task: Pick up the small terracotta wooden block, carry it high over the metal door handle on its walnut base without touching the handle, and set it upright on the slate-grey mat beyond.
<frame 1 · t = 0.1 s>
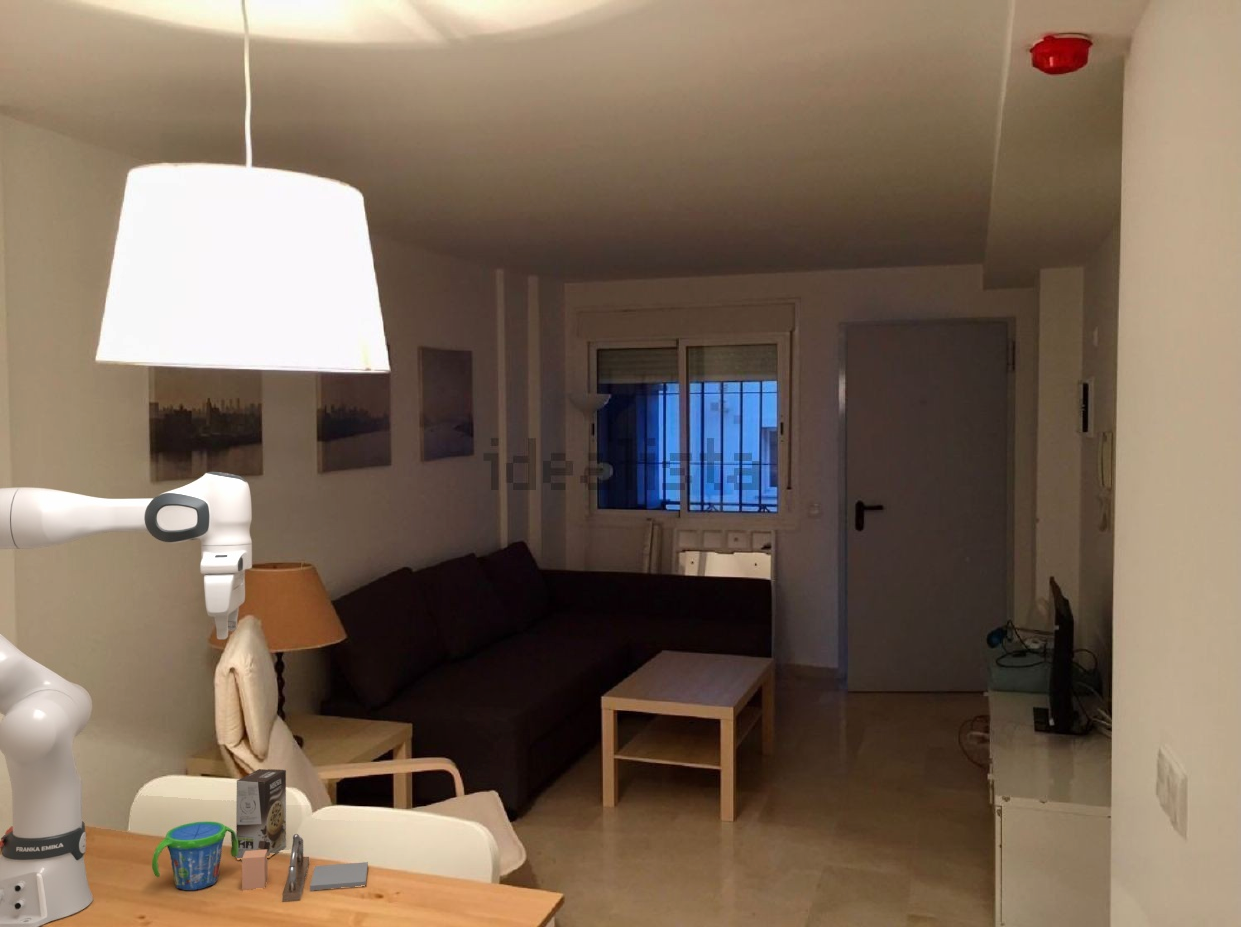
hand: (227, 634, 198), 48 cm above the table, tool pointing down, fingers open, 8 cm apart
mat: (339, 879, 205), on the table
coffee box: (261, 854, 218), on the table
metal door handle: (296, 882, 203), on the table
snack cup: (196, 885, 202), on the table
block: (255, 885, 202), on the table
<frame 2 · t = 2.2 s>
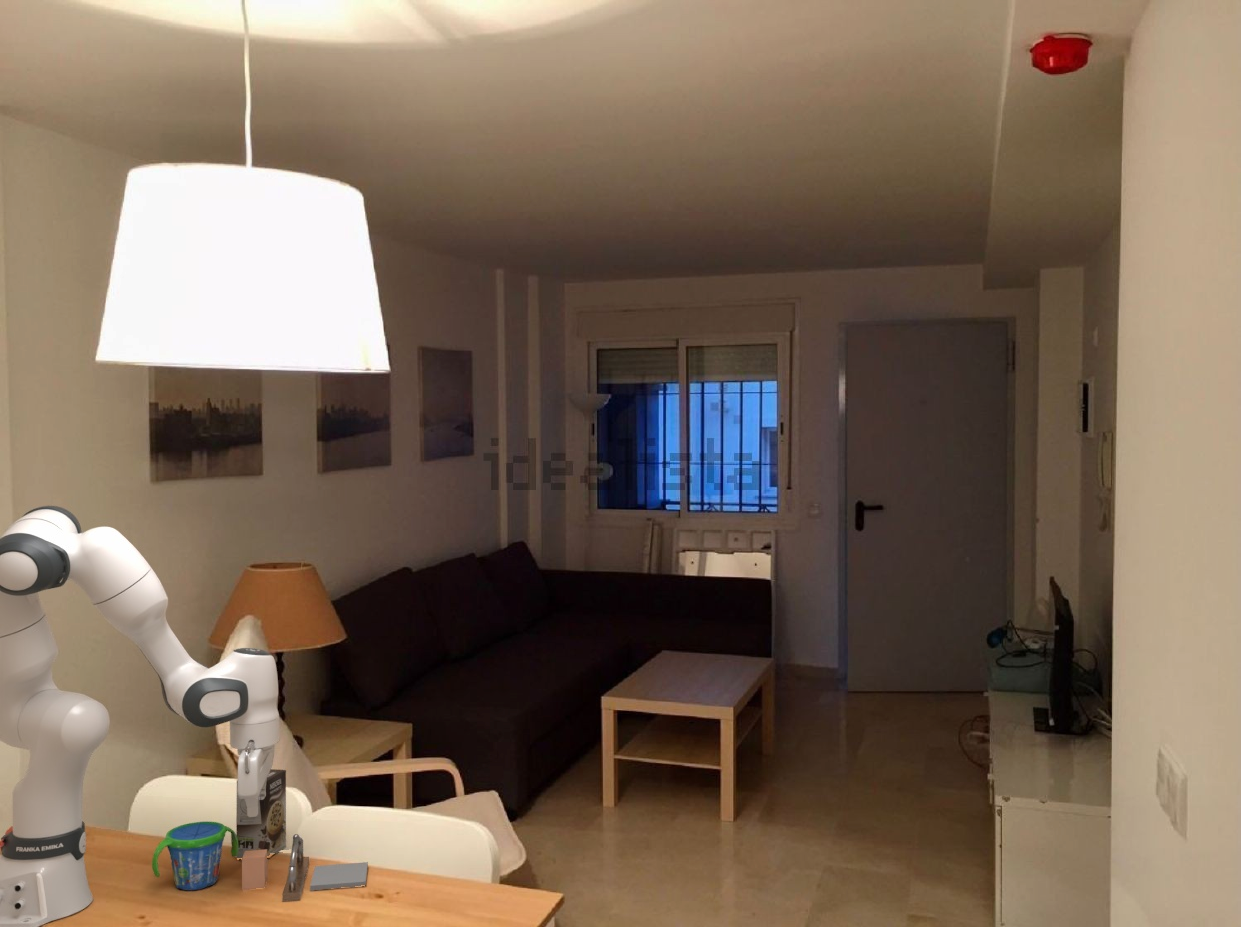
hand: (256, 807, 202), 15 cm above the table, tool pointing down, fingers open, 8 cm apart
nothing on the table moved.
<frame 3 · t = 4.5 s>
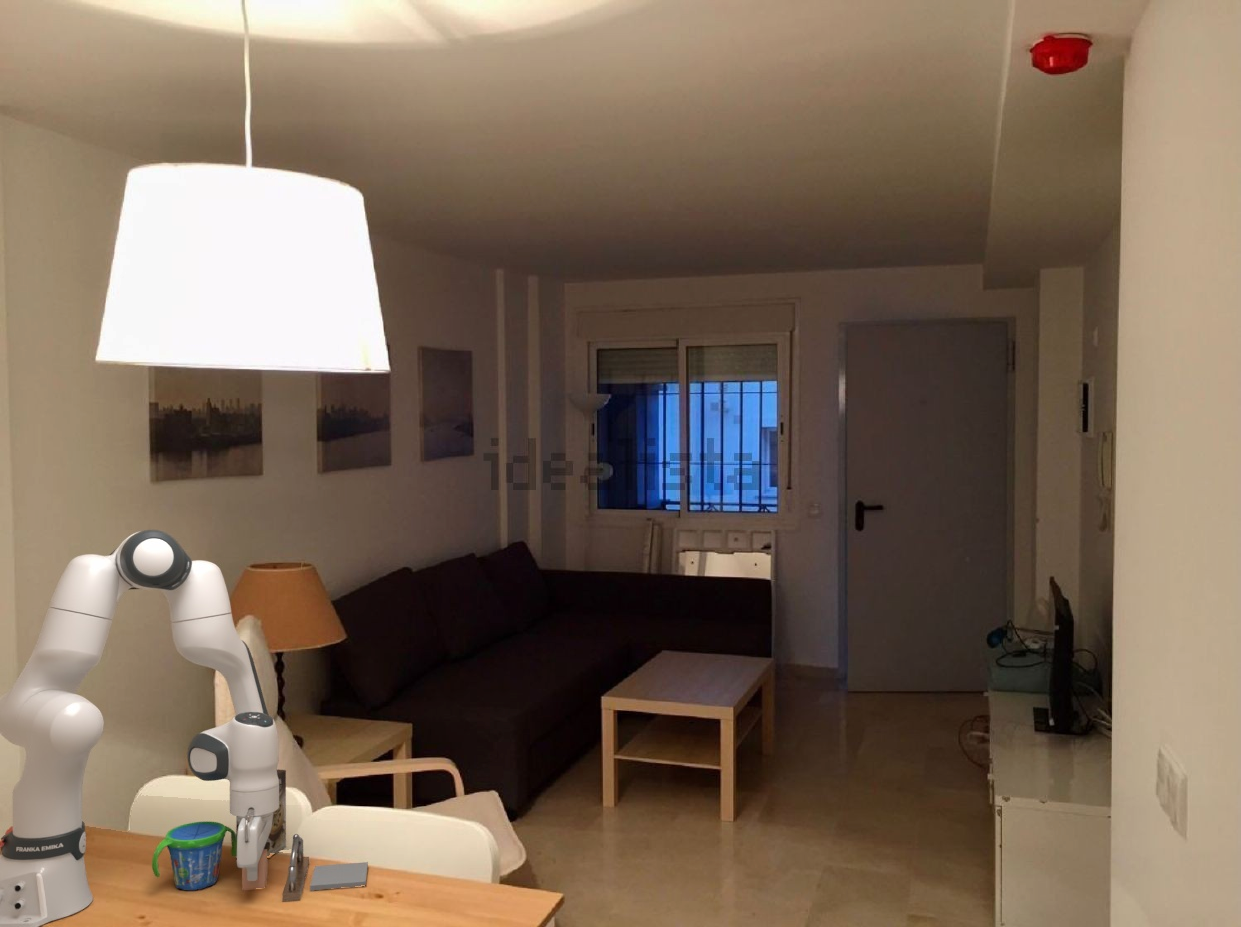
hand: (254, 874, 202), 2 cm above the table, tool pointing down, fingers closed on block, 4 cm apart
block: (255, 885, 202), on the table, touching gripper
everything else where it was.
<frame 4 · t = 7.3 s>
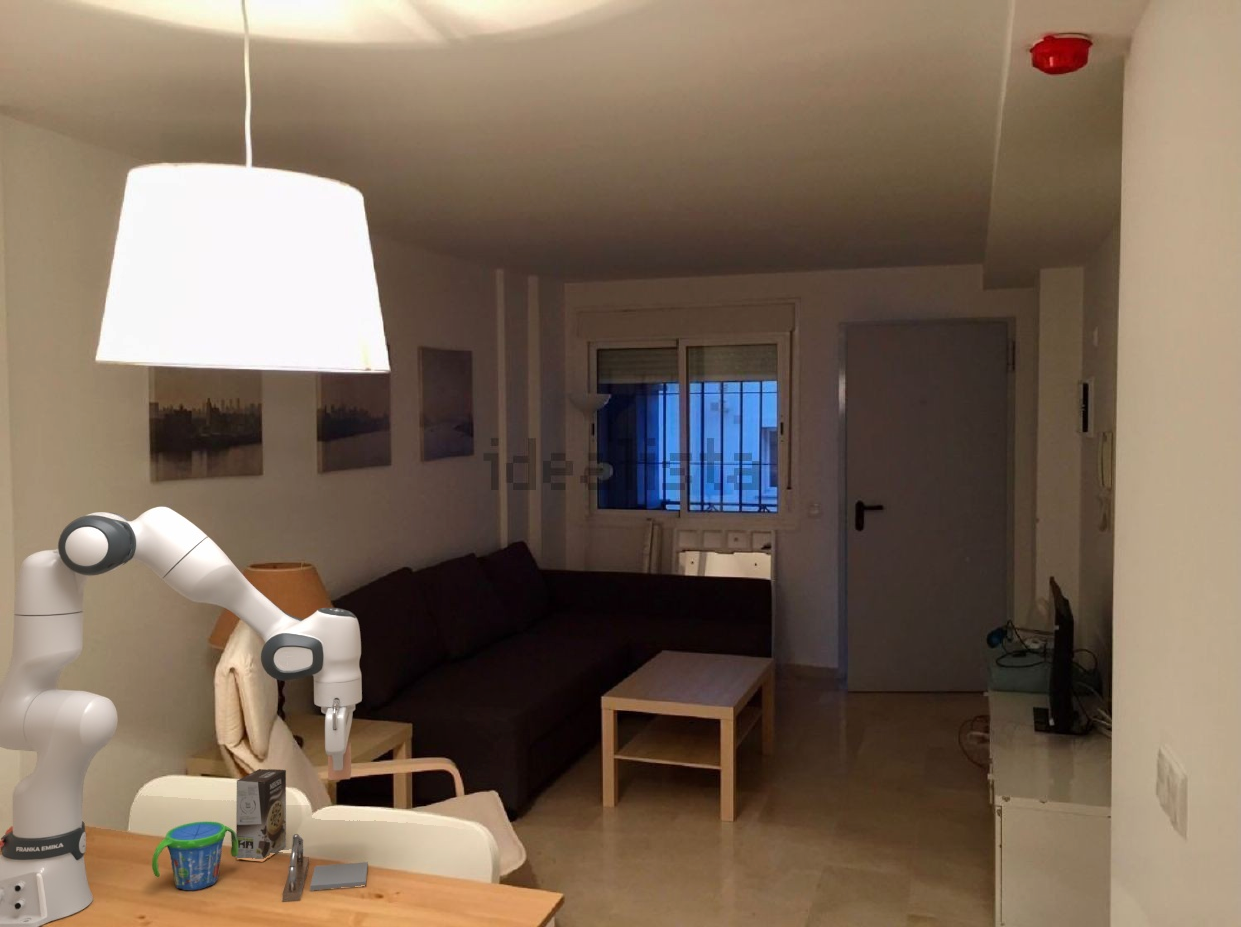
hand: (339, 765, 205), 22 cm above the table, tool pointing down, fingers closed on block, 4 cm apart
block: (339, 776, 205), point 20 cm above the table, touching gripper
everything else where it was.
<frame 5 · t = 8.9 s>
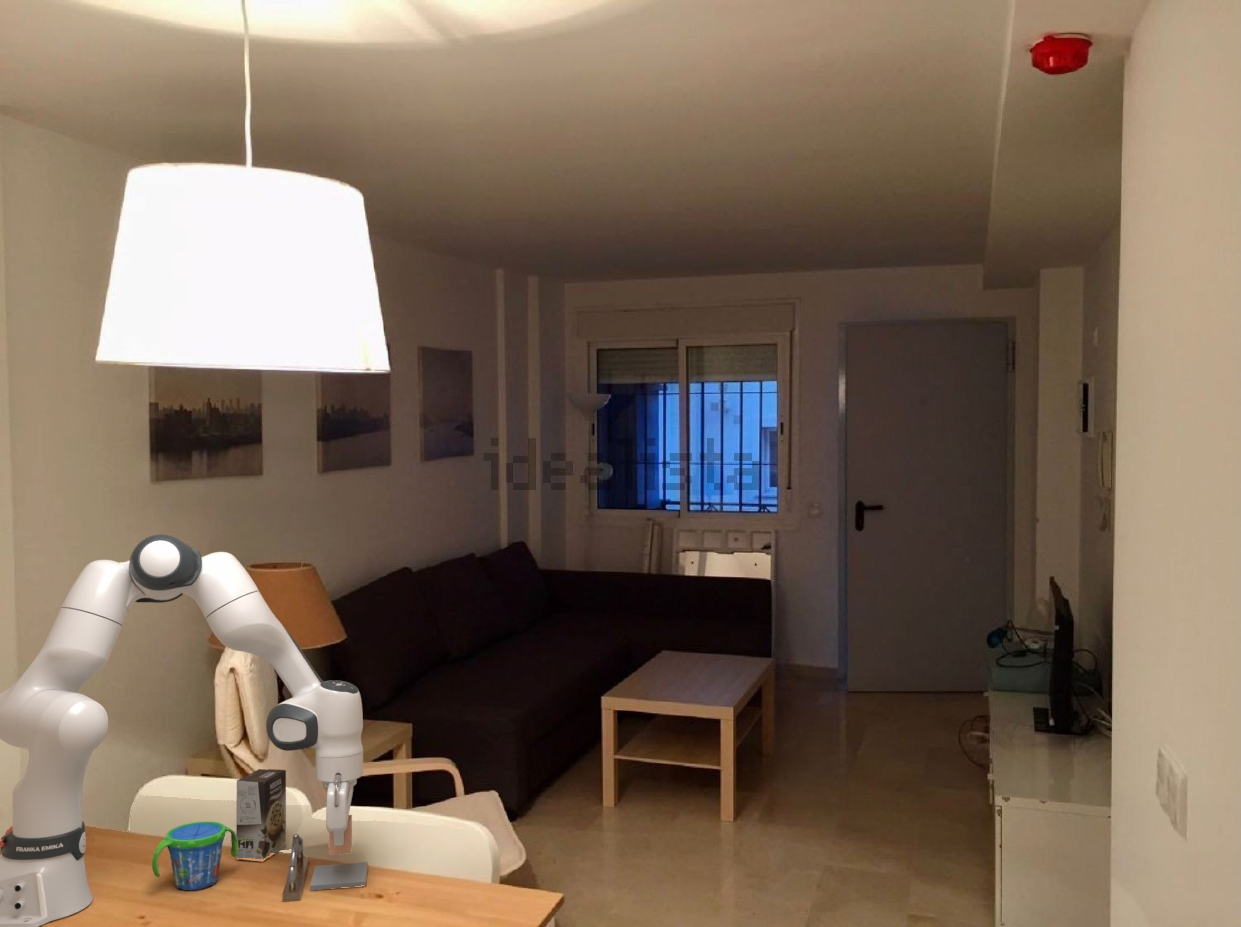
hand: (340, 839, 205), 7 cm above the table, tool pointing down, fingers closed on block, 4 cm apart
block: (340, 850, 205), point 5 cm above the table, touching gripper
everything else where it was.
when the fingers open (5 cm above the table, at t = 10.2 s): block drops 1 cm, resting on mat.
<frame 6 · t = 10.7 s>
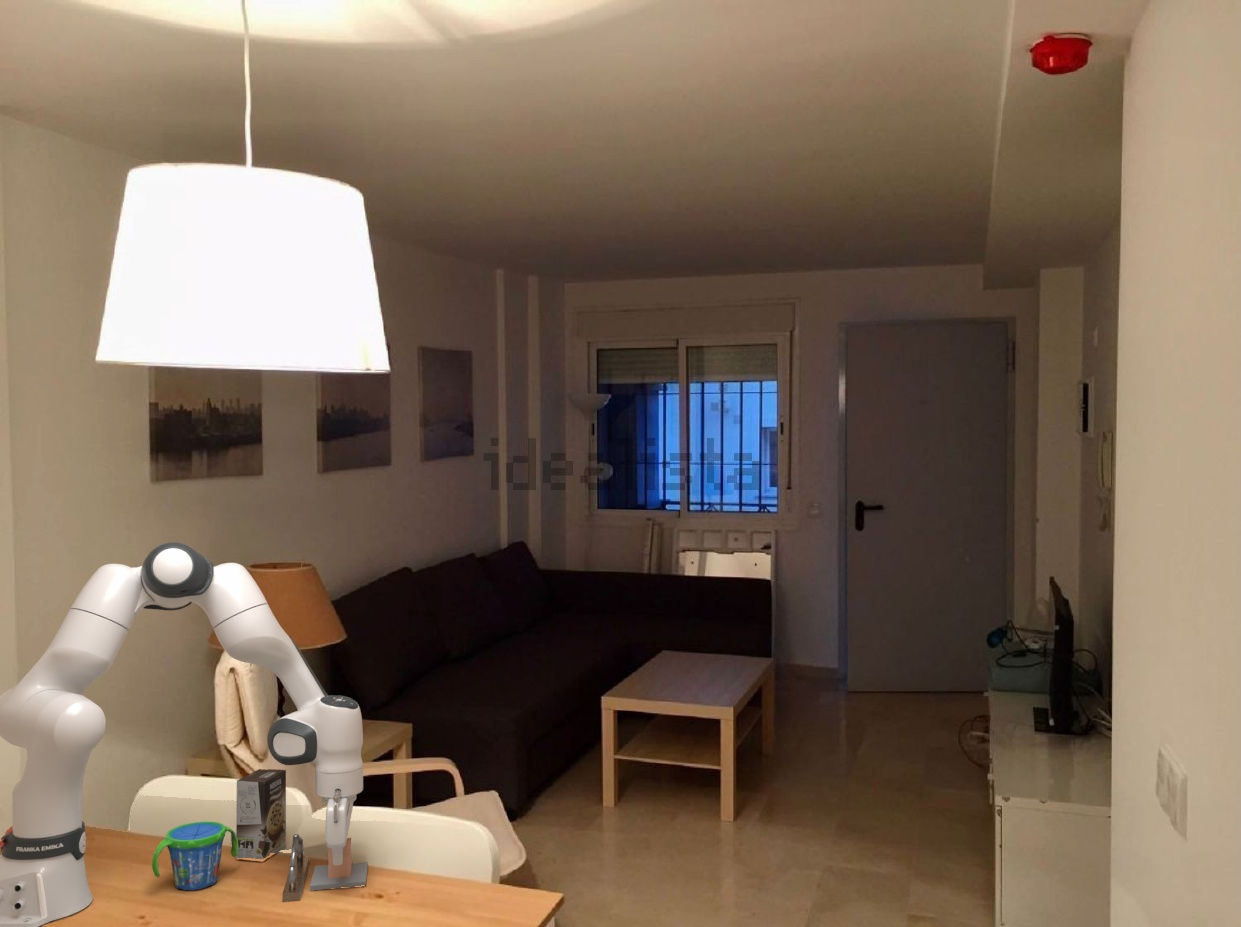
hand: (339, 854, 205), 5 cm above the table, tool pointing down, fingers open, 8 cm apart
block: (340, 873, 204), point 1 cm above the table, touching mat
everything else where it was.
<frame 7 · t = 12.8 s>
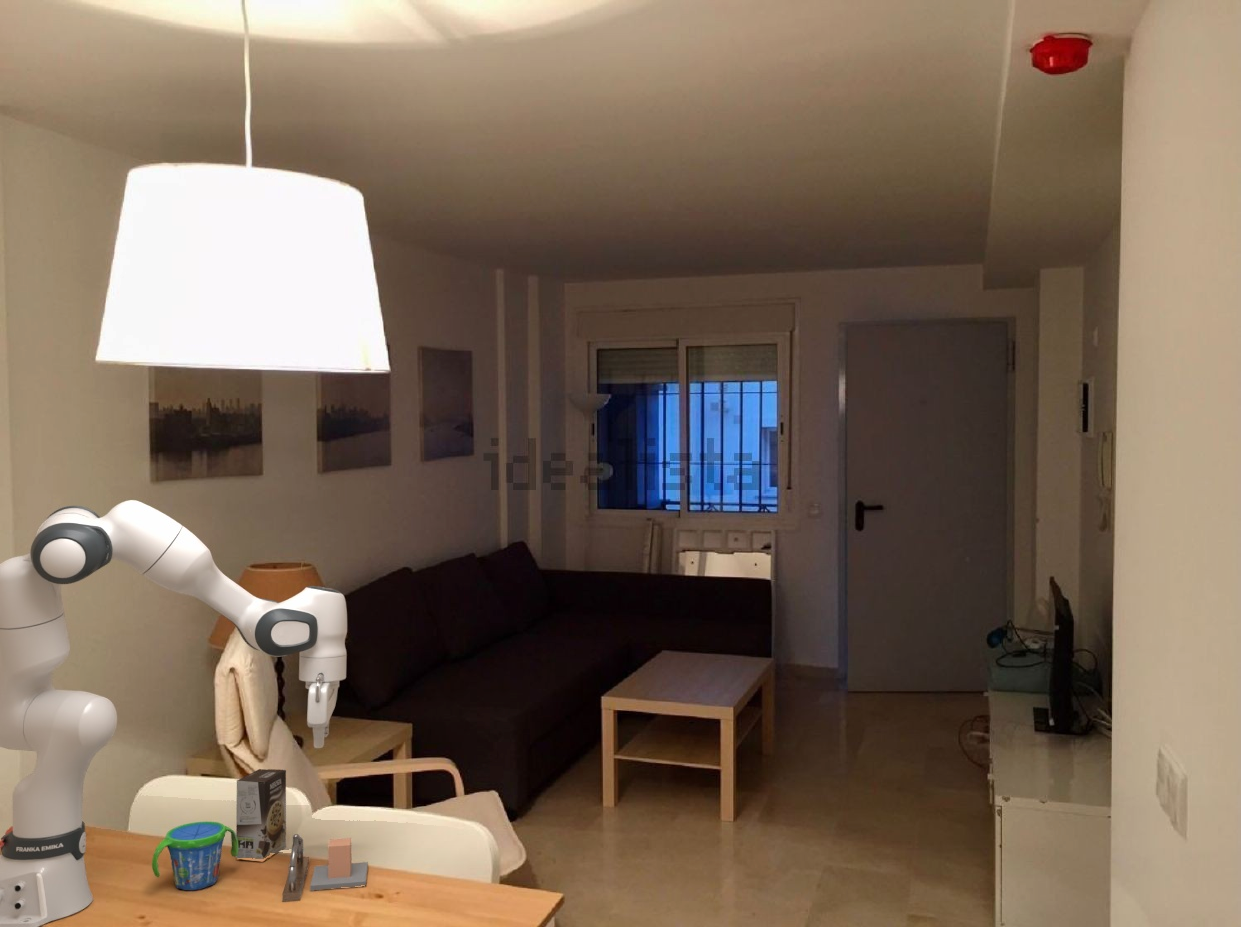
hand: (321, 742, 207), 25 cm above the table, tool pointing down, fingers open, 8 cm apart
nothing on the table moved.
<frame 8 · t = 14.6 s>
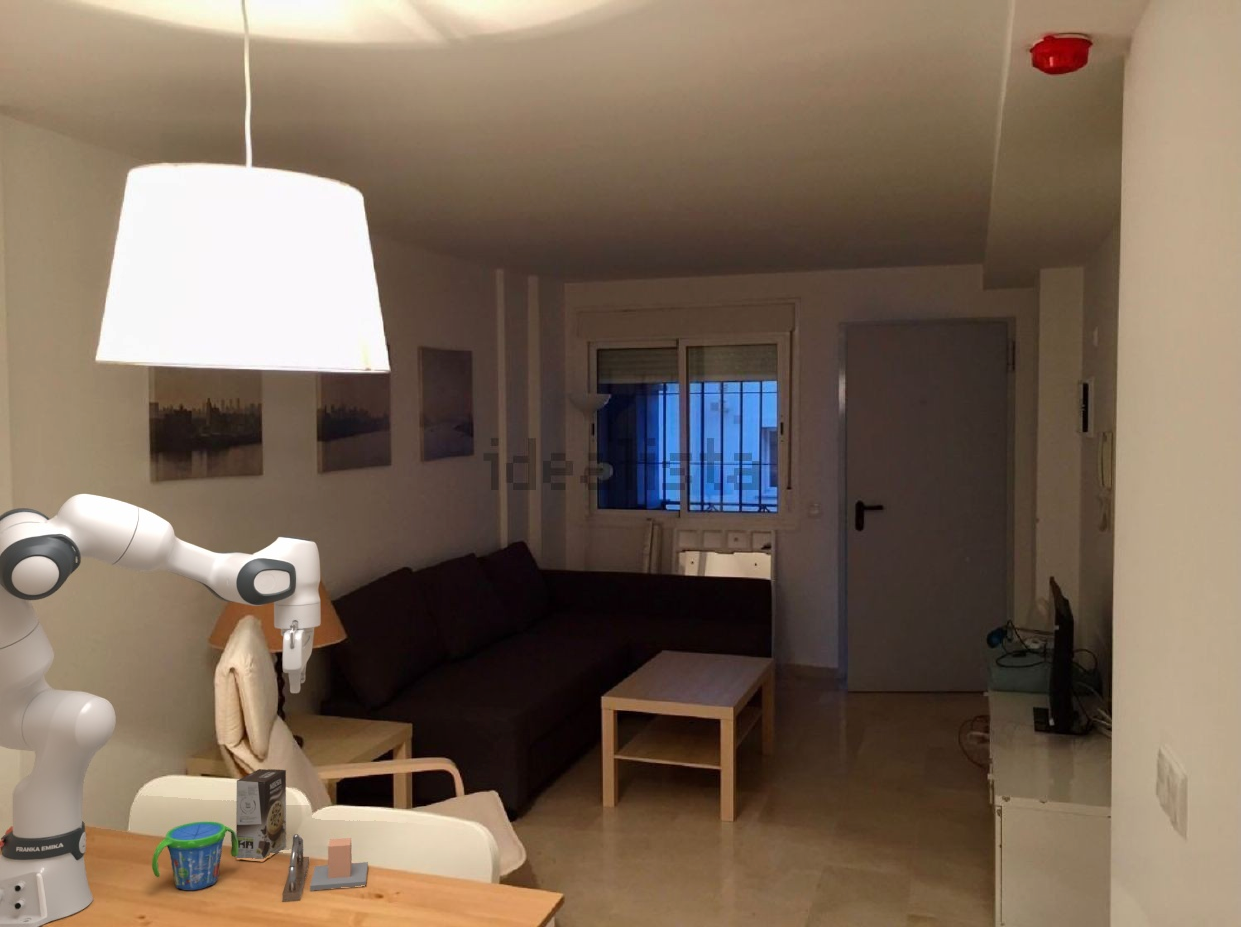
hand: (297, 687, 212), 35 cm above the table, tool pointing down, fingers open, 8 cm apart
nothing on the table moved.
at the end: block inside the target area on the mat (0.0 cm from its centre), point 1.0 cm above the mat's base; block tilted 0°; block touching mat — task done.
